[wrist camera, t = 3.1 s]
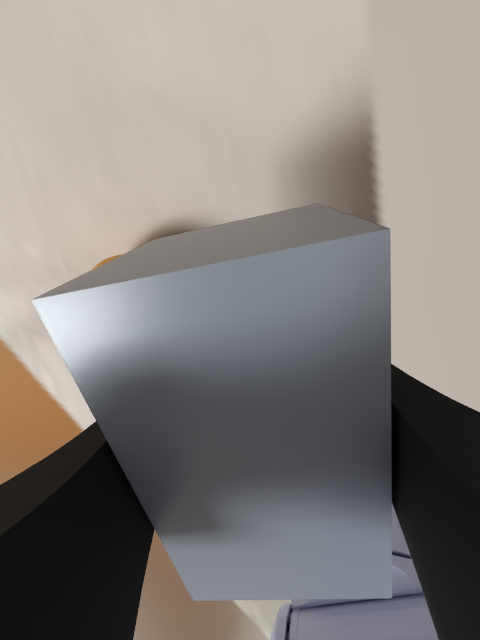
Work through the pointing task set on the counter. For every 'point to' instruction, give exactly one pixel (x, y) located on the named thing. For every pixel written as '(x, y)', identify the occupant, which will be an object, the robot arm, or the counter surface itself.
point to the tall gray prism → (248, 398)
